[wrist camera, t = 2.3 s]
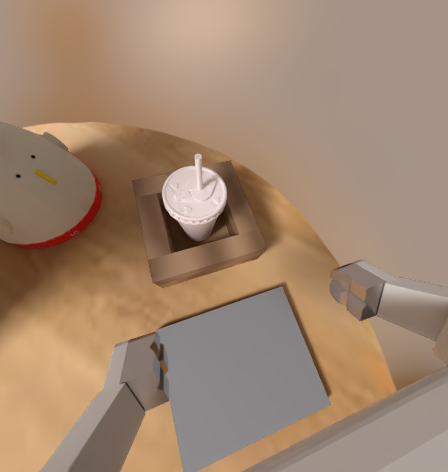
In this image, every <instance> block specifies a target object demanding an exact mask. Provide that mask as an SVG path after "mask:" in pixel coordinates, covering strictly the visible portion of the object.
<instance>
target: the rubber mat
mask: <svg viewBox="0 0 448 472" xmlns="http://www.w3.org/2000/svg"><path fill="white" fill-rule="evenodd" d="M156 331H157V332H158V334H159V336H160V343H161V344H164V347H165V349H166V352H167V358H168V371H167V373H166V377H167V379H168V381H169V399H170V404H171V409H172V415H173V420H174V425H175V430H176V435H177V441H178V446H179V451H180V456H181V461H182V466H183V472H196V471H198V470H200V469H202V468H204V467H206V466H208V465H210V464H212V463H214V462H216V461H218V460H220V459H222V458H224V457H226V456H228V455H230V454H232V453H234V452H236V451H238V450H240V449H242V448H244V447H246V446H248V445H250V444H252V443H254V442H256V441H258V440H260V439H262V438H264V437H266V436H268V435H270V434H272V433H274V432H276V431H278V430H280V429H282V428H284V427H286V426H288V425H290V424H292V423H294V422H296V421H298V420H300V419H302V418H304V417H306V416H308V415H310V414H312V413H314V412H316V411H318V410H320V409H323V408H325V407H327V406H329V405H331V403H330V401H329V398H328V396H327V394H326V391H325V389H324V386H323V384H322V382H321V379H320V377H319V374H318V372H317V369H316V367H315V365H314V362H313V360H312V357H311V355H310V353H309V350H308V348H307V345H306V343H305V340H304V338H303V336H302V333H301V331H300V328H299V326H298V323H297V321H296V319H295V316H294V314H293V311H292V309H291V307H290V304H289V302H288V299H287V297H286V294H285V292H284V290H283V287H282V286H281V287H278V288H275V289H272V290H270V291H267V292H264V293H261V294H258V295H255V296H252V297H249V298H247V299H244V300H241V301H238V302H235V303H232V304H229V305H226V306H224V307H221V308H218V309H215V310H212V311H209V312H206V313H203V314H201V315H198V316H195V317H192V318H189V319H186V320H183V321H180V322H178V323H175V324H172V325H169V326H166V327H163V328H160V329H157V330H156Z"/></svg>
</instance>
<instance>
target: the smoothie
mask: <svg viewBox="0 0 448 472" xmlns="http://www.w3.org/2000/svg"><path fill="white" fill-rule="evenodd" d="M162 197H163V202H164V205H165V208H166V210H167V211H168V212H169V214H170V215H171V216H172V217H173V218H175V219H176V220H177V221H178V222H179V224H180V225H181V227H182V228H183V230H184V231H185V233H186V234H187V236H188V237H189V238H190V239H191V240H193V241H204V240H206V239H207V238H208V237H209V236H210V234H211V232H212V230H213V227H214V225H215V222H216V220H217V217H218V216H219V215H220V214H221V212H222V211H223V209H224V207H225V205H226V199H227V189H226V185H225V183H224V181H223V179H222V178H221V177H220V176H219V175H218V174H217V173H216V172H214V171H213V170H211V169H209V168H206V167H202V156H201V155H200V154H196V155H195V166H187V167H183V168H180V169H178V170H176V171H175V172H173V173H172V174H171V175H170V176H169V177H168V178H167V179H166V181H165V183H164V185H163V189H162Z"/></svg>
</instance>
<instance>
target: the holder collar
mask: <svg viewBox="0 0 448 472" xmlns="http://www.w3.org/2000/svg"><path fill="white" fill-rule="evenodd" d="M202 167H206V168H209V169H211V170H213V171H214V172H216V173H217V174H218V175H219V176H220V177H221V178H222V179H223V181H224V183H225V185H226V189H227V199H226V205H225V207H224V209H223V211H222V215H223V218H224V220H225V223H226V226H227V229H228V232H229V234H230V237H228V238H225V239H221V240H217V241H214V242H210V243H207V244H203V245H200V246H196V247H193V248H189V249H185V250H182V251H178V252H175V251H174V247H173V243H172V239H171V235H170V231H169V227H168V223H167V219H166V215H165V212H167V210H166V208H165V205H164V202H163V197H162V189H163V185H164V183H165V181H166V179H167V178H168V177H169V176H170V175H171V174H172V173H173V172H172V173H167V174H163V175H158V176H153V177H148V178H143V179H138V180H133V181H132V183H133V188H134V192H135V197H136V202H137V207H138V212H139V217H140V222H141V227H142V232H143V237H144V242H145V247H146V252H147V257H148V262H149V267H150V272H151V277H152V282H153V283H154V284H156V285H158V286H160V287H162V288H164V287H168V286H171V285H174V284H177V283H180V282H184V281H187V280H190V279H193V278H196V277H200V276H203V275H206V274H209V273H213V272H216V271H219V270H222V269H225V268H229V267H232V266H235V265H238V264H241V263H245V262H248V261H251V260H254V259H257V258H258V257H259V256H260V255H261V254H262V253H263V252H264V251H265V250H266V249H267V247H266V244H265V242H264V239H263V237H262V235H261V232H260V230H259V227H258V225H257V222H256V220H255V218H254V215H253V213H252V210H251V208H250V206H249V203H248V201H247V198H246V196H245V194H244V191H243V189H242V186H241V184H240V182H239V179H238V177H237V174H236V172H235V169H234V167H233V165H232V162H231V161H226V162H221V163H216V164H211V165H206V166H202Z"/></svg>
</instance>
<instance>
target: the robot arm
mask: <svg viewBox="0 0 448 472" xmlns="http://www.w3.org/2000/svg"><path fill="white" fill-rule="evenodd" d="M331 278H332V279H333V280H332V282H331V283H330V292H331V295H332V296H333V298H334V299H335V300H336V301H337V302H338V303H340V304H343V305H346V307H347V310H348V311H349V312H350V313H351V314H352V315H353V316H355V317H356V318H357V319H358V320H359V321H362V320H365V319H368V318H370V317H373V316H376V315H377V317H380V318H382V319H384V320H387V321H389V322H392V323H394V324H396V325H399V326H401V327H403V328H405V329H408V330H410V331H413V332H415V333H417V334H419V335H422V336H424V337H426V338H429V339H431V340H434V341H436V344H435V346H434V348H433V353H434V354H435V355H436V356H437V357H439V358H440V359H441V360H443V361H444V362H445V363H446V364H448V287H445V286H440V285H435V284H430V283H425V282H421V281H416V280H411V279H407V278H402V277H399V278H396V277H394V276H392V275H391V274H389V273H387V272H385V271H383V270H381V269H380V268H378V267H376V266H374V265H372V264H370V263H368V262H367V261H364V260H359V261H356V262H353V263H351V264H347V265H344V266H342V267H339V268H336V269H333V270H332V272H331ZM167 371H168V358H167V352H166V349H165V347H164V344H161V343H160V336H159V334H158V332H157V331H155V332H152V333H149V334H146V335H143V336H140V337H136V338H133V339H130V340H128V341H125V342H122V343H119V344H116V345H115V347H114V349H113V352H112V356H111V360H110V364H109V368H108V372H107V376H106V380H105V384H104V388H103V391H102V392H99V393H98V394H97V395H96V396H95V398H94V399H93V400H92V402H91V403H90V404H89V406H88V407H87V409H86V410H85V411H84V413H83V414H82V415H81V417H80V418H79V419H78V421H77V422H76V423H75V425H74V426H73V427H72V429H71V430H70V432H69V433H68V434H67V436H66V437H65V438H64V440H63V441H62V442H61V444H60V445H59V446H58V448H57V449H56V450H55V452H54V453H53V454H52V456H51V457H50V459H49V460H48V461H47V463H46V464H45V465H44V467H43V468H42V469H41V471H40V472H120V471H121V468H122V466H123V464H124V462H125V459H126V457H127V455H128V452H129V450H130V448H131V445H132V443H133V441H134V439H135V436H136V434H137V432H138V429H139V427H140V425H141V423H142V420H143V418H144V416H145V411H148V410H150V409H152V408H154V407H157V406H159V405H161V404H163V403H165V402H168V401H169V381H168V379H167V377H166V373H167ZM242 472H448V365H447V366H445V367H443V368H442V369H440V370H437V371H436V372H434V373H432V374H430V375H428V376H426V377H424V378H422V379H420V380H418V381H416V382H414V383H412V384H411V385H408V386H407V387H405V388H403V389H401V390H399V391H397V392H395V393H393V394H391V395H389V396H387V397H385V398H383V399H381V400H379V401H378V402H376V403H374V404H372V405H370V406H368V407H366V408H364V409H362V410H360V411H358V412H356V413H354V414H352V415H350V416H348V417H347V418H345V419H343V420H341V421H339V422H337V423H335V424H333V425H331V426H329V427H327V428H325V429H323V430H321V431H319V432H318V433H316V434H314V435H312V436H310V437H308V438H306V439H304V440H302V441H300V442H298V443H296V444H294V445H292V446H290V447H289V448H287V449H285V450H283V451H281V452H279V453H277V454H275V455H273V456H271V457H269V458H267V459H265V460H263V461H261V462H260V463H258V464H256V465H254V466H252V467H250V468H248V469H246V470H244V471H242Z"/></svg>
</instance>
